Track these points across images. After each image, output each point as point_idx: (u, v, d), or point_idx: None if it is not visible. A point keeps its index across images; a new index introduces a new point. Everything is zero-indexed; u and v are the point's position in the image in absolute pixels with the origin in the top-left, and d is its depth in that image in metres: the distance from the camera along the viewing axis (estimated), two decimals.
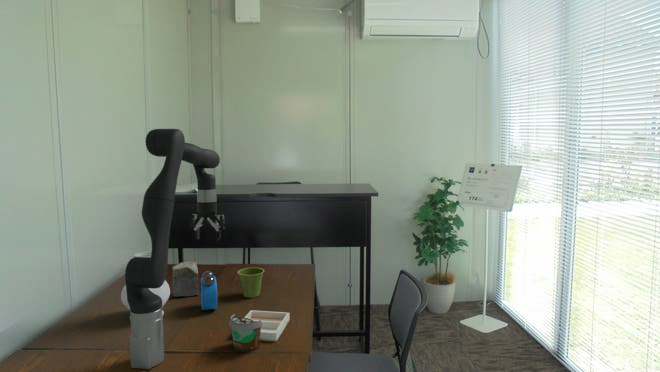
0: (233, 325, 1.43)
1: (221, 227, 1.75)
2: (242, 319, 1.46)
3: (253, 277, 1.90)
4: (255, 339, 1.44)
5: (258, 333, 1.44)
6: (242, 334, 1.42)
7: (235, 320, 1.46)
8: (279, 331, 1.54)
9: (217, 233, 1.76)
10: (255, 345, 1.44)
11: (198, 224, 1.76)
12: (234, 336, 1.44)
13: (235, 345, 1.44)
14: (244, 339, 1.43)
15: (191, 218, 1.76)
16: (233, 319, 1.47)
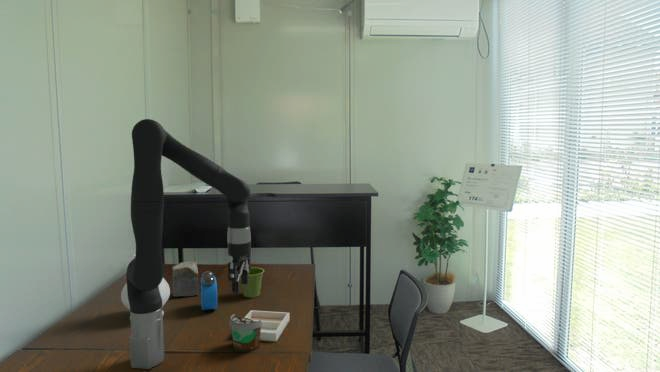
0: (233, 325, 1.43)
1: (250, 266, 1.50)
2: (242, 319, 1.46)
3: (253, 277, 1.90)
4: (255, 339, 1.44)
5: (258, 333, 1.44)
6: (242, 334, 1.42)
7: (235, 320, 1.46)
8: (279, 331, 1.54)
9: (247, 275, 1.49)
10: (255, 345, 1.44)
11: (241, 271, 1.41)
12: (234, 336, 1.44)
13: (235, 345, 1.44)
14: (244, 339, 1.43)
15: (236, 267, 1.37)
16: (233, 319, 1.47)
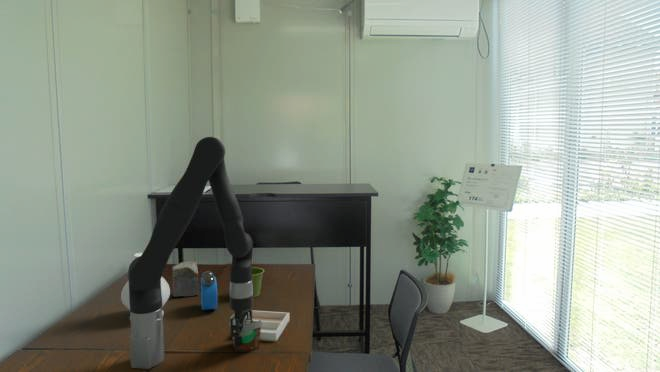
0: None
1: (251, 318, 1.50)
2: None
3: (253, 277, 1.90)
4: (255, 339, 1.44)
5: (258, 333, 1.44)
6: (242, 334, 1.42)
7: None
8: (279, 331, 1.54)
9: None
10: (255, 345, 1.44)
11: (243, 326, 1.42)
12: None
13: None
14: (244, 339, 1.43)
15: (238, 323, 1.38)
16: None
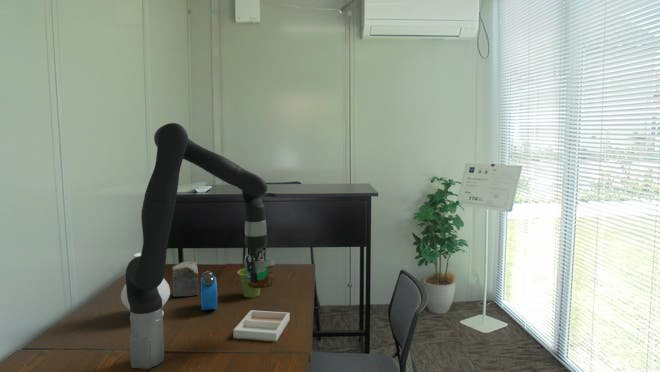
0: None
1: None
2: None
3: None
4: (268, 276, 1.52)
5: (270, 271, 1.53)
6: None
7: None
8: (279, 331, 1.54)
9: None
10: (268, 282, 1.53)
11: None
12: (248, 274, 1.52)
13: (249, 282, 1.53)
14: (258, 276, 1.51)
15: (253, 260, 1.47)
16: None
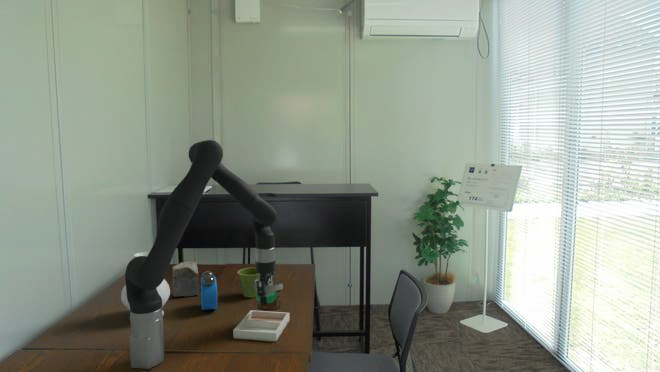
0: None
1: None
2: None
3: (253, 277, 1.90)
4: (277, 300, 1.62)
5: (279, 295, 1.63)
6: None
7: None
8: (279, 331, 1.54)
9: None
10: (277, 305, 1.63)
11: None
12: (258, 297, 1.62)
13: (259, 305, 1.63)
14: (267, 299, 1.61)
15: (263, 285, 1.57)
16: None
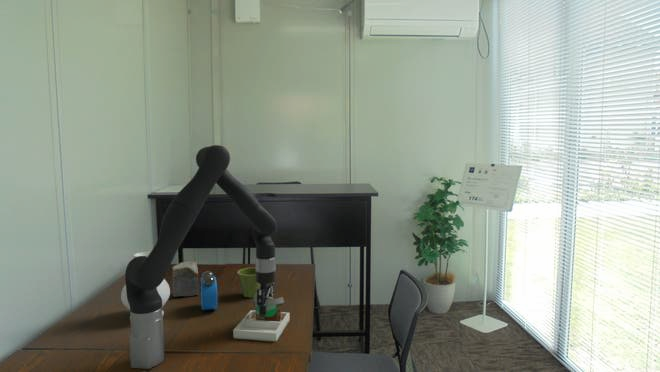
0: None
1: (273, 291, 1.70)
2: None
3: (253, 277, 1.90)
4: (277, 314, 1.63)
5: (279, 309, 1.63)
6: (266, 309, 1.61)
7: None
8: (279, 331, 1.54)
9: None
10: (276, 319, 1.63)
11: (267, 297, 1.61)
12: (258, 311, 1.62)
13: (258, 319, 1.62)
14: (268, 313, 1.61)
15: (263, 294, 1.57)
16: None
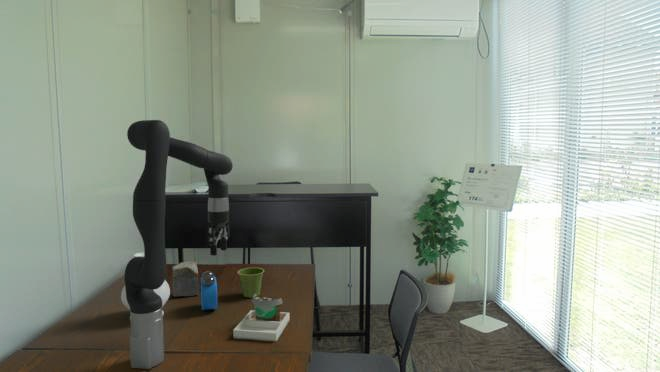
0: (257, 303, 1.60)
1: (228, 235, 1.68)
2: (264, 298, 1.64)
3: (253, 277, 1.90)
4: (276, 315, 1.62)
5: (278, 310, 1.63)
6: (265, 311, 1.60)
7: (258, 299, 1.64)
8: (279, 331, 1.54)
9: (226, 242, 1.66)
10: (276, 320, 1.63)
11: (219, 237, 1.58)
12: (257, 313, 1.62)
13: None
14: (267, 314, 1.61)
15: (214, 232, 1.55)
16: (255, 298, 1.65)
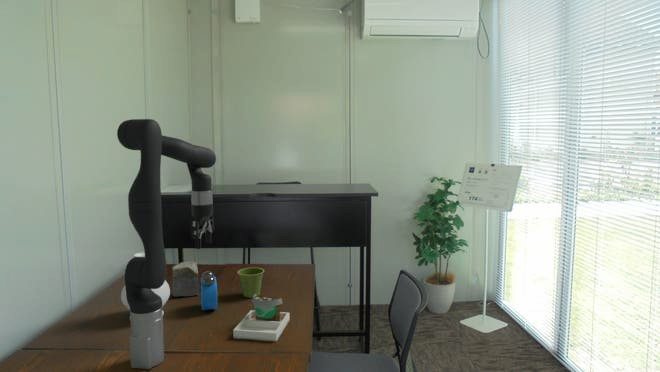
0: (257, 303, 1.60)
1: (213, 228, 1.68)
2: (264, 298, 1.64)
3: (253, 277, 1.90)
4: (276, 315, 1.62)
5: (278, 310, 1.63)
6: (265, 311, 1.60)
7: (257, 299, 1.64)
8: (279, 331, 1.54)
9: (210, 235, 1.66)
10: (276, 320, 1.63)
11: (203, 230, 1.58)
12: (257, 313, 1.62)
13: None
14: (267, 314, 1.61)
15: (198, 225, 1.55)
16: (255, 298, 1.65)
